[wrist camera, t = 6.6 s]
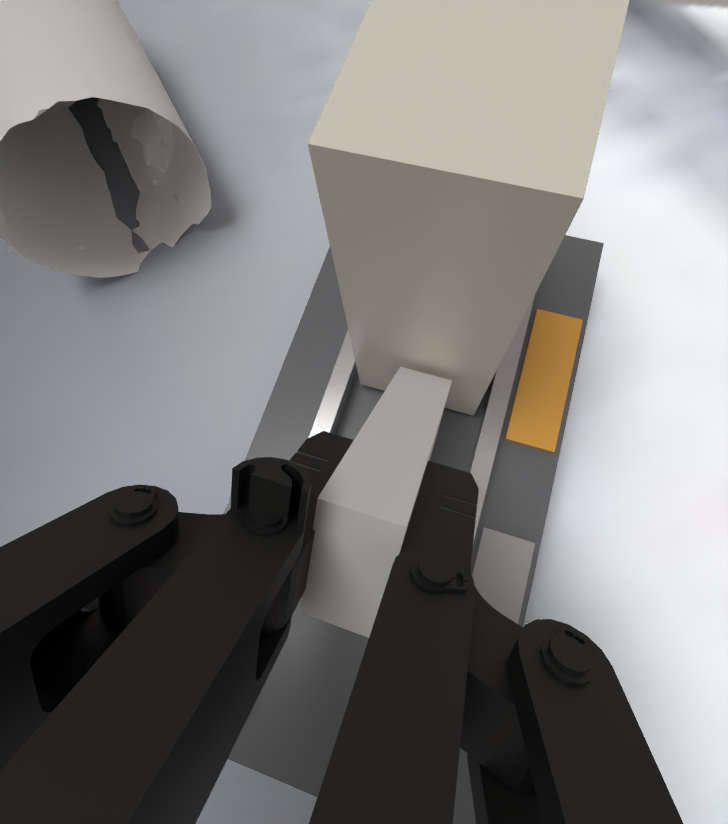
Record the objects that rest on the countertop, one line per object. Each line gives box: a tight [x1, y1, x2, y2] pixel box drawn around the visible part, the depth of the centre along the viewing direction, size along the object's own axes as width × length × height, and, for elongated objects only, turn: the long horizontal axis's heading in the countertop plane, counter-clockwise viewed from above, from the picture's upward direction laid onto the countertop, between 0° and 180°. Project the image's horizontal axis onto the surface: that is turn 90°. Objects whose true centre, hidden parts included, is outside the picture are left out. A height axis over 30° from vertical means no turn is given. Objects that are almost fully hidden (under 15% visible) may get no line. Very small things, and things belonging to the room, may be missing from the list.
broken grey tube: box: [0, 0, 212, 278], centre depth 21 cm, size 8×19×8 cm, turn 27°
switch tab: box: [308, 0, 629, 416], centre depth 12 cm, size 5×4×10 cm
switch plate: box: [224, 235, 604, 824], centre depth 17 cm, size 20×10×4 cm, turn 162°
